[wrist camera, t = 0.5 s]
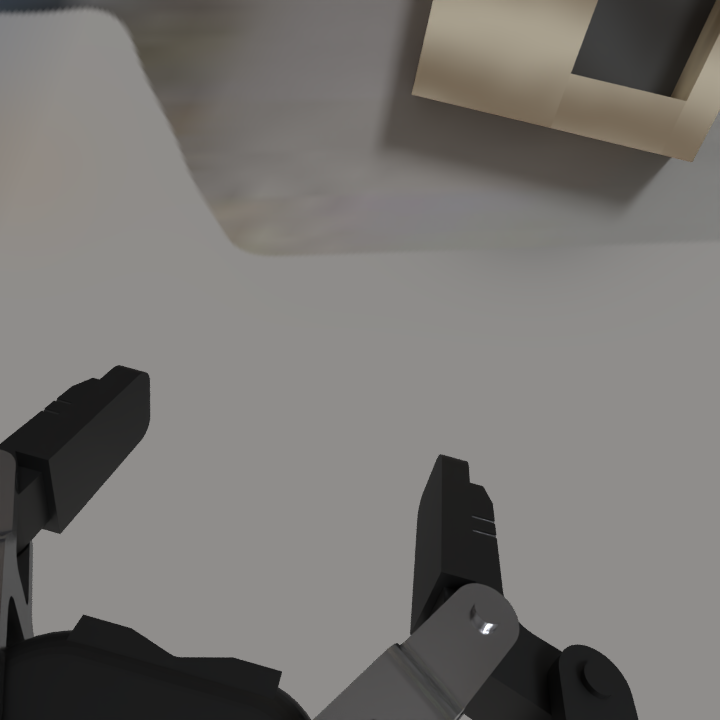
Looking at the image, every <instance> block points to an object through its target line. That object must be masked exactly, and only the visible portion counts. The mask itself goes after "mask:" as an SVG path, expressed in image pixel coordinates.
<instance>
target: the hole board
mask: <svg viewBox="0 0 720 720" xmlns="http://www.w3.org/2000/svg"><path fill="white" fill-rule="evenodd" d="M412 95H416V96H420V97H424V98H428V99H432V100H436V101H441V102H445V103H449V104H453V105H457V106H461V107H465V108H470V109H474V110H478V111H482V112H486V113H490V114H494V115H499V116H503V117H507V118H511V119H515V120H519V121H523V122H528V123H532V124H536V125H540V126H544V127H548V128H552V129H557V130H561V131H565V132H569V133H573V134H577V135H581V136H586V137H590V138H594V139H598V140H602V141H606V142H610V143H615V144H619V145H623V146H627V147H631V148H635V149H639V150H644V151H648V152H652V153H656V154H660V155H664V156H668V157H672V158H677V159H681V160H685V161H689V162H693V160H694V158H695V156H696V154H697V152H698V150H699V148H700V146H701V144H702V143H703V141H704V139H705V137H706V135H707V133H708V131H709V129H710V127H711V125H712V123H713V122H714V120H715V118H716V116H717V114H718V112H719V110H720V0H433V3H432V7H431V12H430V16H429V21H428V25H427V29H426V34H425V38H424V42H423V47H422V51H421V55H420V60H419V64H418V68H417V73H416V77H415V82H414V86H413V90H412Z"/></svg>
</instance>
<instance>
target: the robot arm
mask: <svg viewBox="0 0 720 720" xmlns="http://www.w3.org/2000/svg"><path fill="white" fill-rule="evenodd" d="M149 421H150V378H149V375H148V373H146V372H142V371H138V370H135V369H131V368H127V367H124V366H120V365H118V366H115V367H114V368H113V369H111V370H110V371H109V372H108V373H107V374H106V375H105V376H103V377H102V378H101V379H100V380H99V379H95V378H91V379H89V380H87V381H84V382H82V383H79V384H77V385H74V386H72V387H71V388H69V389H68V390H67V391H66V392H65V393H63V394H62V395H61V396H59V397H58V398H57V401H53V402H52V403H51V404H50V405H48V406H47V407H46V408H45V410H44V411H41V412H39V413H38V414H37V415H36V416H34V417H33V418H32V419H31V420H29V421H28V422H27V423H26V424H24V425H23V426H22V427H21V428H19V429H18V430H17V431H16V432H14V433H13V434H12V435H11V436H9V437H8V438H7V439H6V440H5V441H3V442H2V443H1V444H0V720H311V719H310V717H309V716H308V714H307V713H306V712H305V711H304V710H303V708H302V707H301V706H300V705H299V704H298V702H296V701H295V700H294V699H293V698H292V697H291V696H290V695H288V694H287V693H286V692H284V691H283V690H281V689H280V688H278V685H279V681H280V677H281V673H282V672H281V671H278V670H275V669H271V668H268V667H264V666H261V665H257V664H254V663H250V662H247V661H243V660H239V659H236V658H206V657H204V658H203V657H201V658H200V657H198V658H195V657H191V658H189V657H183V658H182V657H176V656H173V655H171V654H169V653H168V652H166V651H165V650H163V649H162V648H160V647H159V646H157V645H156V644H154V643H153V642H151V641H150V640H148V639H147V638H145V637H144V636H142V635H140V634H139V633H138V632H136V631H135V630H133V629H132V628H128V627H124V626H121V625H118V624H114V623H111V622H107V621H104V620H100V619H96V618H93V617H90V616H86V615H83V616H82V618H81V619H80V620H79V622H78V623H77V625H76V626H75V628H74V629H73V630H72V631H60V632H52V633H48V634H43V635H39V636H35V637H34V634H33V625H32V572H33V569H32V568H33V543H32V539H33V538H34V537H35V536H36V534H37V533H38V532H39V531H40V530H41V529H45V530H48V531H52V532H55V533H59V534H60V533H62V531H63V530H64V529H65V528H66V527H67V526H68V524H69V523H70V522H71V521H72V520H73V519H74V517H75V516H76V515H77V514H78V513H79V512H80V510H81V509H82V508H83V507H84V506H85V505H86V504H87V502H88V501H89V500H90V499H91V498H92V497H93V495H94V494H95V493H96V492H97V491H98V490H99V488H100V487H101V486H102V485H103V483H105V481H106V480H107V479H108V478H109V477H110V476H111V475H112V473H113V472H114V471H115V470H116V469H117V468H118V466H119V465H120V464H121V463H122V462H123V461H124V459H125V458H126V457H127V456H128V455H129V454H130V452H131V451H132V450H133V449H134V448H135V447H136V445H137V444H138V443H139V442H140V441H141V440H142V438H143V437H144V435H145V433H146V431H147V429H148V426H149ZM494 521H495V520H494V511H493V503H492V501H491V500H490V498H489V496H488V494H487V493H486V491H485V489H484V487H483V486H480V485H476V484H473V483H470V479H469V465H468V462H467V461H463V460H460V459H456V458H452V457H449V456H445V455H441V454H440V455H439V456H438V458H437V460H436V462H435V465H434V468H433V470H432V472H431V475H430V477H429V480H428V482H427V485H426V487H425V490H424V492H423V495H422V498H421V501H420V505H419V510H418V518H417V533H416V550H415V565H414V581H413V597H412V614H411V630H410V634H411V636H410V637H409V638H408V639H407V640H406V641H405V642H404V643H402V644H401V645H399V644H398V643H396V644H394V645H392V646H391V647H390V648H388V649H387V650H386V651H385V652H384V653H383V654H382V655H381V656H380V657H378V658H377V659H376V660H375V661H374V662H373V663H372V664H371V665H370V666H369V667H368V668H367V669H366V670H365V671H364V672H363V673H362V674H361V675H360V676H359V677H357V678H356V679H355V680H354V681H353V682H352V683H351V684H350V685H349V686H348V687H347V688H346V689H345V690H344V691H343V692H342V693H341V694H340V695H339V696H338V697H337V698H336V699H334V700H333V701H332V702H331V703H330V704H329V705H328V706H327V707H326V708H325V709H324V710H323V711H322V712H321V713H320V714H319V715H318V716H317V717H315V718H314V719H313V720H460V719H461V717H462V716H463V715H464V714H465V715H467V716H468V717H469V718H471V719H472V720H638V716H637V713H636V708H635V705H634V701H633V697H632V694H631V691H630V688H629V686H628V683H627V681H626V680H625V678H624V676H623V675H622V673H621V672H620V671H619V669H618V668H617V667H616V666H615V665H614V664H613V663H612V662H611V661H610V660H609V659H608V658H607V657H606V656H604V655H603V654H602V653H600V652H598V651H597V650H595V649H593V648H590V647H588V646H584V645H571V646H569V647H567V648H566V649H564V650H563V652H561V651H560V650H558V649H556V648H555V647H553V646H551V645H550V644H548V643H547V642H545V641H543V640H542V639H540V638H539V637H537V636H535V635H534V634H532V633H531V632H529V631H528V630H527V629H526V628H524V627H523V626H522V625H521V624H520V623H519V622H518V618H517V615H516V613H515V611H514V609H513V607H512V606H511V605H510V603H509V602H508V600H507V599H505V597H504V595H503V589H502V580H501V571H500V564H499V554H498V545H497V539H496V528H495V524H494Z"/></svg>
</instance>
